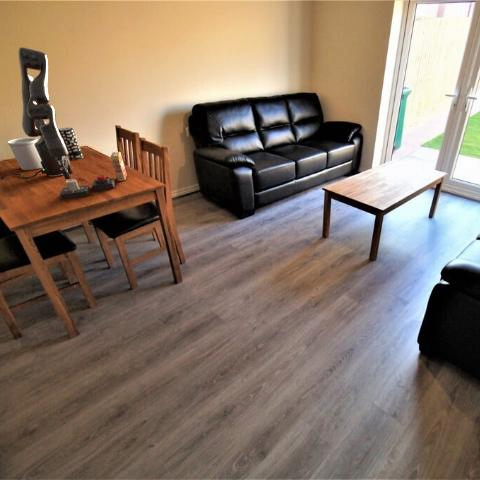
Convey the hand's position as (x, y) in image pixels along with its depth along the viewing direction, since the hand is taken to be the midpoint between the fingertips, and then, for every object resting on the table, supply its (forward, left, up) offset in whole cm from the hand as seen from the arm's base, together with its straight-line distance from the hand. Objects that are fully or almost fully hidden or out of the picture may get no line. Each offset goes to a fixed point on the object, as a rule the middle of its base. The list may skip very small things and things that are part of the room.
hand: (69, 176), depth 173 cm
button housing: (+12, +8, -11) cm, 18 cm away
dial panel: (0, 0, -11) cm, 11 cm away
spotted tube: (-22, +73, -11) cm, 77 cm away
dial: (0, 0, -8) cm, 8 cm away
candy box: (+19, +21, -11) cm, 30 cm away
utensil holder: (-42, +58, -11) cm, 72 cm away
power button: (+12, +8, -6) cm, 15 cm away
